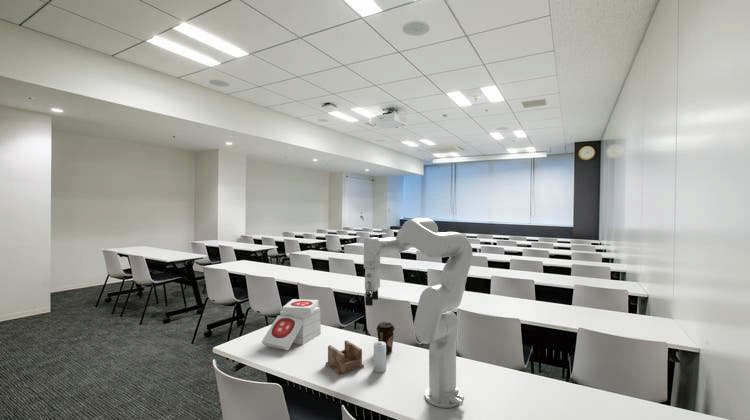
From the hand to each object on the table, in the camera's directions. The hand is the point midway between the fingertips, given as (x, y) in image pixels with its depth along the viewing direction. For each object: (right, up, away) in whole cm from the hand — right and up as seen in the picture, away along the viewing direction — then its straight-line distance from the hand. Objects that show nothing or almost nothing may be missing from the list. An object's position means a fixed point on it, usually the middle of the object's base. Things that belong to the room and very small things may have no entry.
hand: (371, 302), depth 148 cm
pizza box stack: (-40, -26, +21) cm, 52 cm away
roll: (+4, -26, -10) cm, 28 cm away
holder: (-12, -26, -6) cm, 29 cm away
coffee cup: (+7, -26, +8) cm, 28 cm away
